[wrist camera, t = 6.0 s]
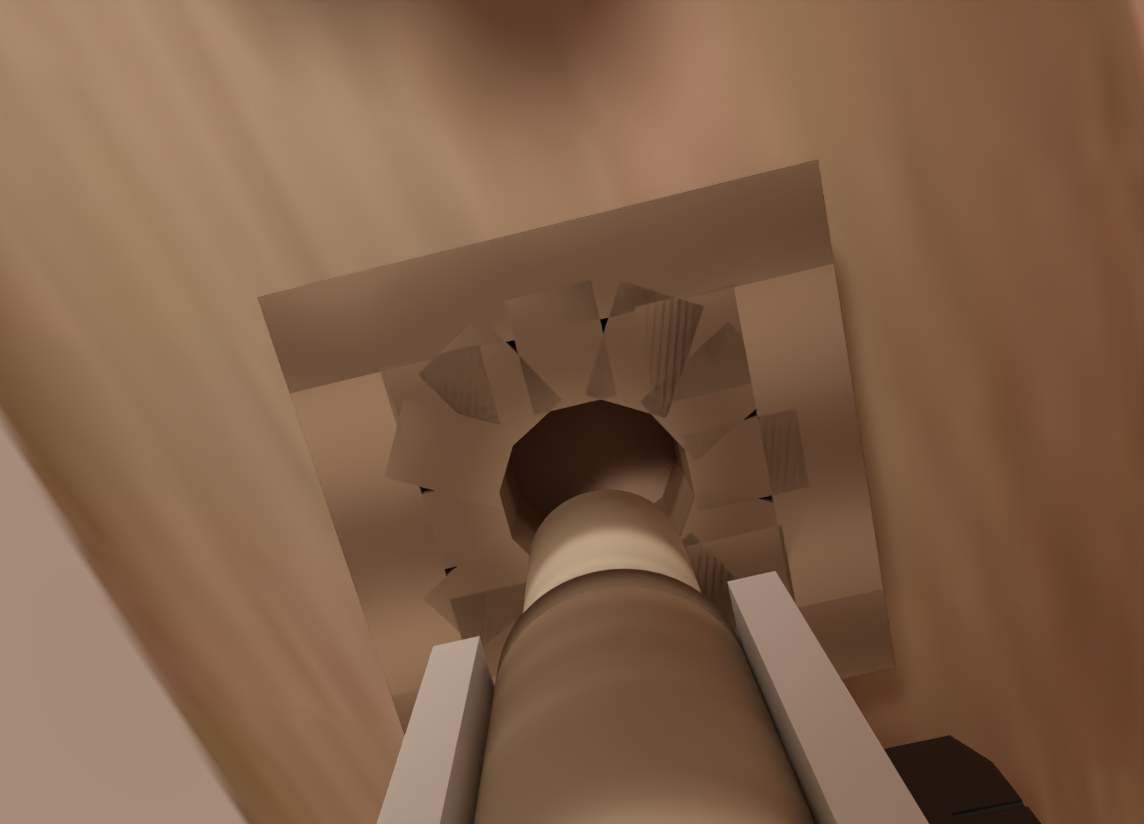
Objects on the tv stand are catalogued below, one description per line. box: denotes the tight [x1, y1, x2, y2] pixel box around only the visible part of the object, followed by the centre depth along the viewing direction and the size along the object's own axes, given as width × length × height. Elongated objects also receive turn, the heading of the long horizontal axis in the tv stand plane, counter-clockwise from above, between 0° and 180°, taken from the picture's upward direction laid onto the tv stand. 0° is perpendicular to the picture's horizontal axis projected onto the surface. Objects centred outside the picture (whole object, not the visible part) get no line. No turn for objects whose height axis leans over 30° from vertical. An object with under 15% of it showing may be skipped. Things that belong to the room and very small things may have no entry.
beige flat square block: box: [258, 160, 895, 735], centre depth 22 cm, size 14×14×4 cm
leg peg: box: [473, 490, 816, 824], centre depth 10 cm, size 4×4×14 cm
